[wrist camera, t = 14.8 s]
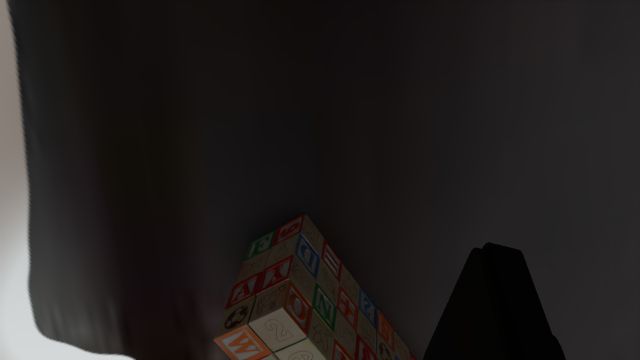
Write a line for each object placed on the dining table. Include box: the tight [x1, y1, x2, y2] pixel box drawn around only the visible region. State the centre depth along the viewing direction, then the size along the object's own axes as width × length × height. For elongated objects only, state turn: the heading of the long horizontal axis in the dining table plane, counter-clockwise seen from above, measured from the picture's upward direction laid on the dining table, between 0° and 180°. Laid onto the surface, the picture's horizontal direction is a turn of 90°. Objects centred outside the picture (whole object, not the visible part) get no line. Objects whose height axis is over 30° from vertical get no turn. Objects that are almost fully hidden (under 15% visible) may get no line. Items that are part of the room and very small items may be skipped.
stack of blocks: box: [214, 214, 416, 360], centre depth 48 cm, size 21×6×12 cm, turn 34°
